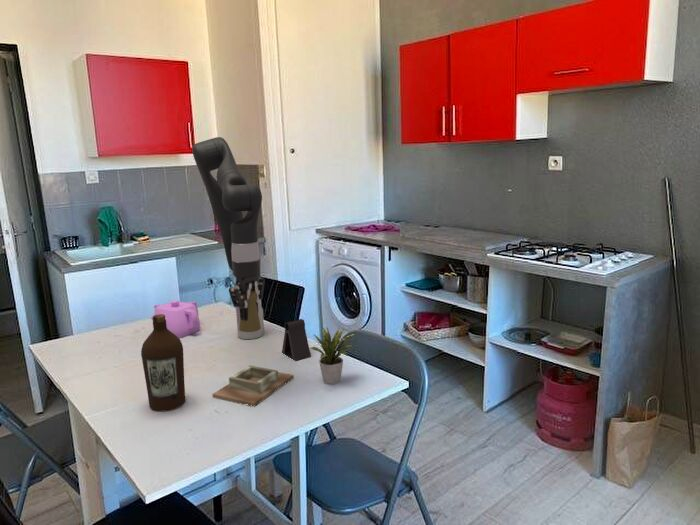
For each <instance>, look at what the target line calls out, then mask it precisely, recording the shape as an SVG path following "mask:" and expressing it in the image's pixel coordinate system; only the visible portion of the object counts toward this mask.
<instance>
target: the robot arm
mask: <svg viewBox="0 0 700 525" xmlns="http://www.w3.org/2000/svg"><path fill="white" fill-rule="evenodd" d="M191 150H192V155H193V156H192V157H193V158H194V161H195V164H196V166H197V169H198V172H199V174H200V176H201V179H202V182H203V184H204V187H205V190H206V192H207V193H206V194H207V195H208V199H209V203H210V205H211V210H212V213H213V215H214V219H215V222H216V224H217V227H218V230H219V234H220V236H221V239H222V244H223V247H224V252H225V257H226V261H227V264H228V267H229V269H230V270H231V271H232V275H233V276H234V277H235V284H234V286H233V287H229V289H228V294H229V296H230V299H231V302H232V306H233V307H234V308H235V312H236V313H235V314H236V326H237V327H236V328H237V338H239V339H241V340H253V339H254V340H255V339H259V338H261V337H262V336H263V335H264V333H265V324H264V321H265V320H264V308H263V307H262V300H263V298H264V289H265V283H266V278H262V277H261V276H262V275H261V254H260V247H259V241H258V240H259V238H258V223H259V222H258V221H259V216H260V211H261V207H262V201H263V193H262V191H261V189H260V188H259V186H258V185H256V184H247V180H246V179H245V177H244V176H243V174H242V173H241V171H240V170H239V168H238V166H237V162H236V160H235V157H234V155H233V153H232V152H233V151H232V150H231V147H230V146H229V143H228V142H227V141H226V139H225V138H224V137H221V136H216V137H214V138H210V139H209V138H208V139H207V140H203V141H199V142H197V143H194V144H193V145H192V148H191ZM216 170H217V171H216ZM213 171H216V175H215V176H216V178H215V177H214V176H213V175H212V173H211V172H213ZM244 212H246V214H245V215H244V214H243V213H244ZM251 291H255V292H256V293H257V296H258V298H257V301H256V306H257V311H258V316H259V321H260V326H261V329H260V330H258V331H254V332H242V331H240V330H239V325H240V318H241V320H244V321H247V320H248V308H247V305H248V303H247V300H248V299H249V296H250V292H251ZM240 294H243V295H246V296H245V297H244V296H240ZM242 299H244V303H243V302H242Z"/></svg>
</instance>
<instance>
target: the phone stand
mask: <svg viewBox="0 0 700 525" xmlns="http://www.w3.org/2000/svg"><path fill="white" fill-rule="evenodd" d="M306 331H307V330H306V323H305V320H304V319H302V318H299V319H298V318H297V319H294V320H290V321H286V322H285V323H284V335H283V340H282V341H283V342H282V346H281V347H282V348H281V349H282V350H281V353H283V354H282V355H284V354H285V355H286V356H285V355H284V356H285V357H287V356H288V357H287V358H289V359H290V358H291V360H292V359H293V360H292V361H294V360H295V361H294V362H297V361H300V360H304V359H307V358H311V357H312V356H311V349H310V345H309V340H308V337H307V332H306Z"/></svg>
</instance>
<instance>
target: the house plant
mask: <svg viewBox="0 0 700 525" xmlns="http://www.w3.org/2000/svg"><path fill="white" fill-rule="evenodd" d="M344 331H345V328H343V329H342V330H340V327H338V328H337V329H336V332H335V333H334V335H333V337H331V333H330V330H329V328H328V326H326V328H324V327H322V337H323V340H321V339H320V338H319V337H318V336H317V335H316V334H313V337H314V338H316V340H315V342H316V343H317V344H318V345H319V346H320V347H321V348H322V350H321V349H320V348H318V347H316V346H312V347H309V350H314V351H316V352H319V353H320V359H319V360H318V363H319V368H320V372H321V378H322V381H324V382H325V384H327V383H328V385H333V384H334V383H335V384H338V383H340V381H341V379H342V373H343V372H342V371H343V364H344V359H343V358H342V357H340V356H341V355H344V356H346V357H349V356H348V353H346V352H345V351H347V350H351V348H350V347H351V346H353V344H349V345H346V344H343V343H344V342H347V341H350V340H355V339H356V337H355V338H353V337H352V336H354V335H356V333H355V334H354V333H353V334H349V335H347V336H345V337H344V338H341V337H342V336H343V332H344ZM324 382H323V383H324ZM335 384H334V385H335Z"/></svg>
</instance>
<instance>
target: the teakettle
mask: <svg viewBox="0 0 700 525" xmlns="http://www.w3.org/2000/svg"><path fill="white" fill-rule="evenodd" d="M153 308H154V314H153V315H152V316H151V317H150V319H151V320H152V321H153V316H154V315H158V314H164V315H165V319H166V325H167V329H168V330H169V331H171V332H172V333H173V334H175V335H176V336H177V337H178V338H179V339H183V338H185V337H188V336H190V335H193V334H195V333H198V332H199V331H200V328H201V321H200V318H199V315H200V314H199V310H198V304H197V301H189V302H185V301H184V302H183V301H180V300H177V299H176V300H175V299H174V300H171V301H170V302H168V303H164V304H162V305H160V304H156V305H153Z"/></svg>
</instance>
